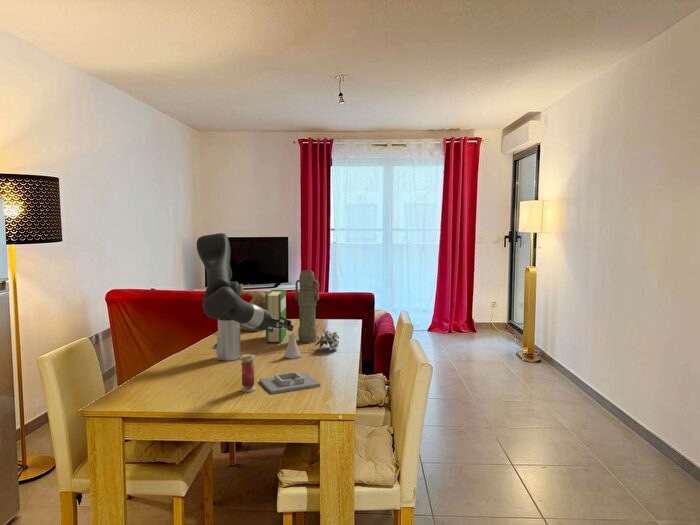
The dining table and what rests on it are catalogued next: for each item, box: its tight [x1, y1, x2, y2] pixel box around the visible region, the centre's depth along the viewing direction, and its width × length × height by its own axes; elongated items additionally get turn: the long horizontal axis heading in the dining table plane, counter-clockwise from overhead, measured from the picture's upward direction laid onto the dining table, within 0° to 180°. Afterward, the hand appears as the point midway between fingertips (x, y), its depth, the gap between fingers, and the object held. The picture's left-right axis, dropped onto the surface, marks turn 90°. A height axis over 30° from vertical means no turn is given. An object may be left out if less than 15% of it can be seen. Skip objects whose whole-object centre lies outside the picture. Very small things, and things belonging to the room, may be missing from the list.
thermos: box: [294, 269, 320, 344], centre depth 244 cm, size 9×12×35 cm
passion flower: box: [315, 328, 340, 352], centre depth 227 cm, size 11×11×12 cm
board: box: [258, 371, 321, 395], centre depth 178 cm, size 18×15×3 cm
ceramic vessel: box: [239, 283, 267, 332], centre depth 273 cm, size 17×20×25 cm
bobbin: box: [239, 354, 257, 394], centre depth 171 cm, size 5×5×12 cm
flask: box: [283, 333, 302, 359], centre depth 215 cm, size 7×7×10 cm
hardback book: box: [264, 289, 287, 344], centre depth 248 cm, size 18×7×24 cm, turn 179°
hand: (282, 329), depth 176 cm, fingers open, 8 cm apart
